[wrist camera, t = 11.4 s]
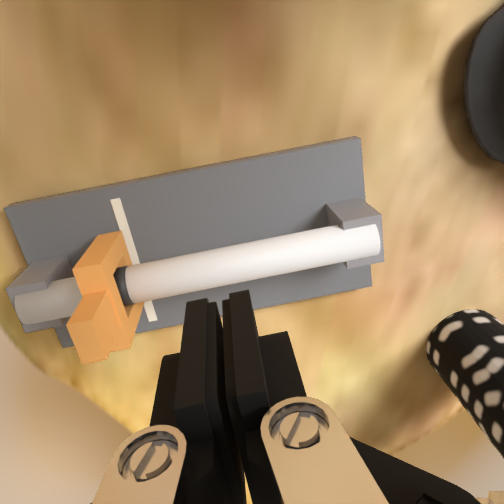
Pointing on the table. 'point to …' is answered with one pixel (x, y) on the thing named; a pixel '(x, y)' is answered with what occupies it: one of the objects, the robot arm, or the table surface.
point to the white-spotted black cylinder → (473, 367)
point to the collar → (102, 301)
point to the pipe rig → (205, 236)
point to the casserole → (487, 86)
